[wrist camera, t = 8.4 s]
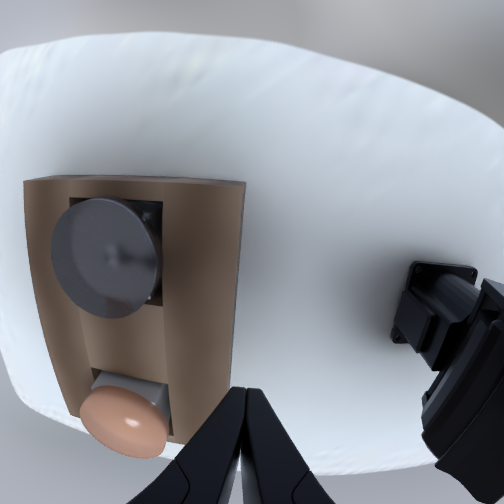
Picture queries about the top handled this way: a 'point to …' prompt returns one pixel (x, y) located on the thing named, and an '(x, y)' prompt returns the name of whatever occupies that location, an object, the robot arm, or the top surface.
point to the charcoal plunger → (109, 254)
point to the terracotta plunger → (128, 414)
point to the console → (153, 310)
